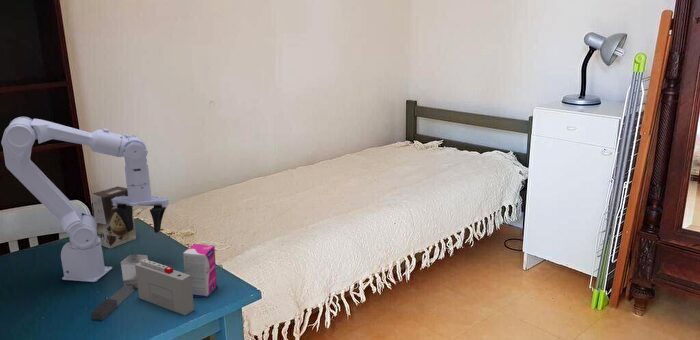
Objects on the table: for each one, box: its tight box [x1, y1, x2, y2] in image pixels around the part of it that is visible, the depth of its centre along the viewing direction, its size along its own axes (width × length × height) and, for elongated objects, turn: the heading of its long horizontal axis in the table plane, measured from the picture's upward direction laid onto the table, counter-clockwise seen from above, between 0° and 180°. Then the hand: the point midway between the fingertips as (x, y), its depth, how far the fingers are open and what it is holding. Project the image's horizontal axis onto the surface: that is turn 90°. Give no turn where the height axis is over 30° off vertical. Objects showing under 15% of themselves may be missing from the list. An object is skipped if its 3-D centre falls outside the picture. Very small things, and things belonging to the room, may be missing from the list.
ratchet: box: [90, 281, 138, 322], centre depth 132 cm, size 20×6×4 cm, turn 171°
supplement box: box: [182, 243, 218, 299], centre depth 133 cm, size 6×6×12 cm
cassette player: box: [135, 259, 195, 316], centre depth 128 cm, size 16×3×10 cm, turn 60°
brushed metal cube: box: [120, 253, 149, 282], centre depth 138 cm, size 5×5×5 cm
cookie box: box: [91, 186, 137, 249], centre depth 162 cm, size 9×6×16 cm
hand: (144, 230), depth 147 cm, fingers open, 7 cm apart
